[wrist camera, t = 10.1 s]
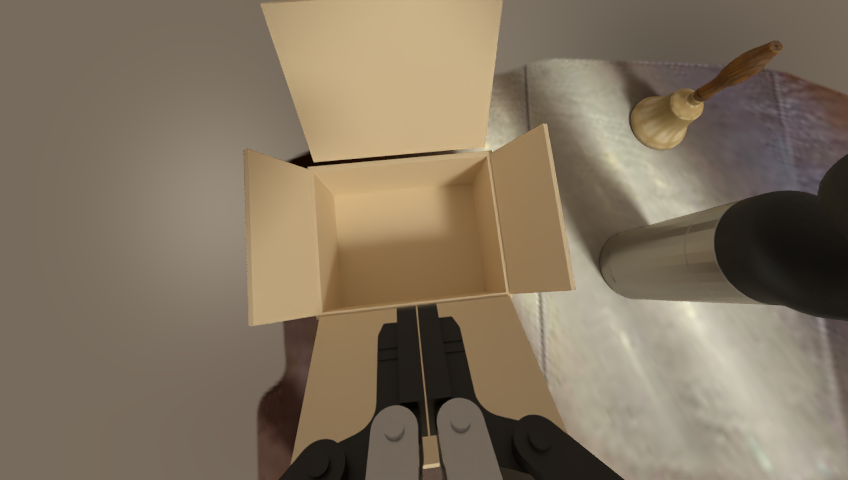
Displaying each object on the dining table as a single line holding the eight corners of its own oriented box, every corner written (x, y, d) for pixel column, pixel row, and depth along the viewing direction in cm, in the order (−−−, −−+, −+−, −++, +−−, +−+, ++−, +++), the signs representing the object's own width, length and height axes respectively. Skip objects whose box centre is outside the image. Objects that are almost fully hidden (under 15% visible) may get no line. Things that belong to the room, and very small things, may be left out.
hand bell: (696, 130, 48) (833, 53, 33) (655, 161, 47) (776, 97, 32) (659, 87, 49) (775, -8, 33) (618, 116, 48) (717, 33, 33)
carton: (501, 177, 46) (567, 93, 26) (529, 371, 42) (632, 443, 23) (302, 196, 45) (215, 122, 25) (314, 398, 41) (222, 499, 21)
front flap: (484, 146, 36) (483, 143, 36) (504, -13, 25) (502, -14, 26) (313, 162, 35) (314, 158, 35) (260, 3, 24) (262, 1, 25)
